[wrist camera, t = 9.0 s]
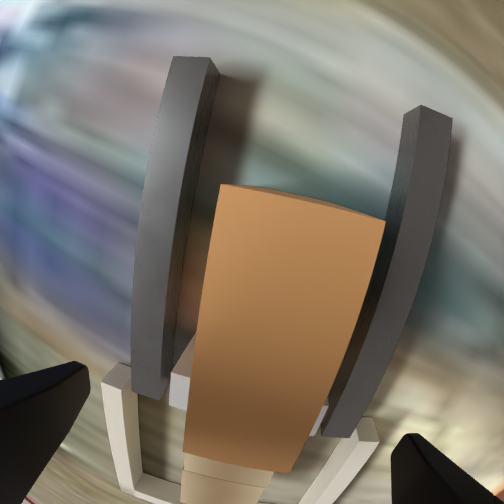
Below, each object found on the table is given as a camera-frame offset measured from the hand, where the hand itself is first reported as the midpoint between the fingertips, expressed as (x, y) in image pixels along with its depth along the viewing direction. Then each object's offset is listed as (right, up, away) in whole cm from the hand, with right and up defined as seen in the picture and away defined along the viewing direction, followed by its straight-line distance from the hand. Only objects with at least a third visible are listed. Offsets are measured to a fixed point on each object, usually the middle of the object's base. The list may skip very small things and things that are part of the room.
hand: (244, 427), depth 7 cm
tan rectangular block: (+1, +3, +6) cm, 7 cm away
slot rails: (+1, +4, +6) cm, 7 cm away
